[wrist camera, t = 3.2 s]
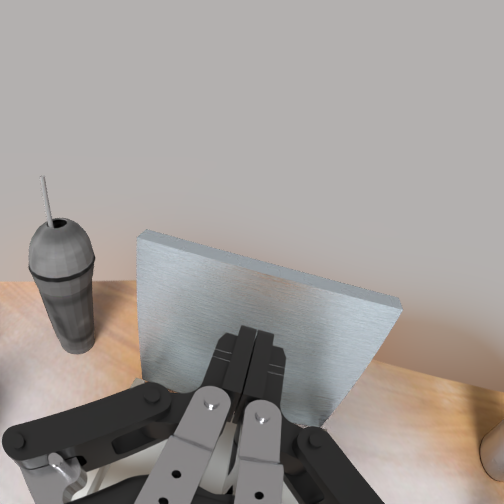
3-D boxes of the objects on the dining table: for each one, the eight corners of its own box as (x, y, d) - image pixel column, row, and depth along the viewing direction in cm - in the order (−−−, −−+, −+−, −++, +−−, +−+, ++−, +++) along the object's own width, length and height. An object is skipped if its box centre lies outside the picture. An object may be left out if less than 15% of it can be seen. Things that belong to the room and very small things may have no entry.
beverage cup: (108, 360, 29) (91, 187, 20) (50, 365, 26) (6, 193, 16) (103, 317, 35) (95, 162, 25) (51, 320, 31) (27, 166, 22)
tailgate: (319, 427, 22) (403, 309, 16) (142, 379, 23) (136, 237, 17) (320, 411, 24) (396, 292, 17) (150, 365, 25) (150, 225, 18)
